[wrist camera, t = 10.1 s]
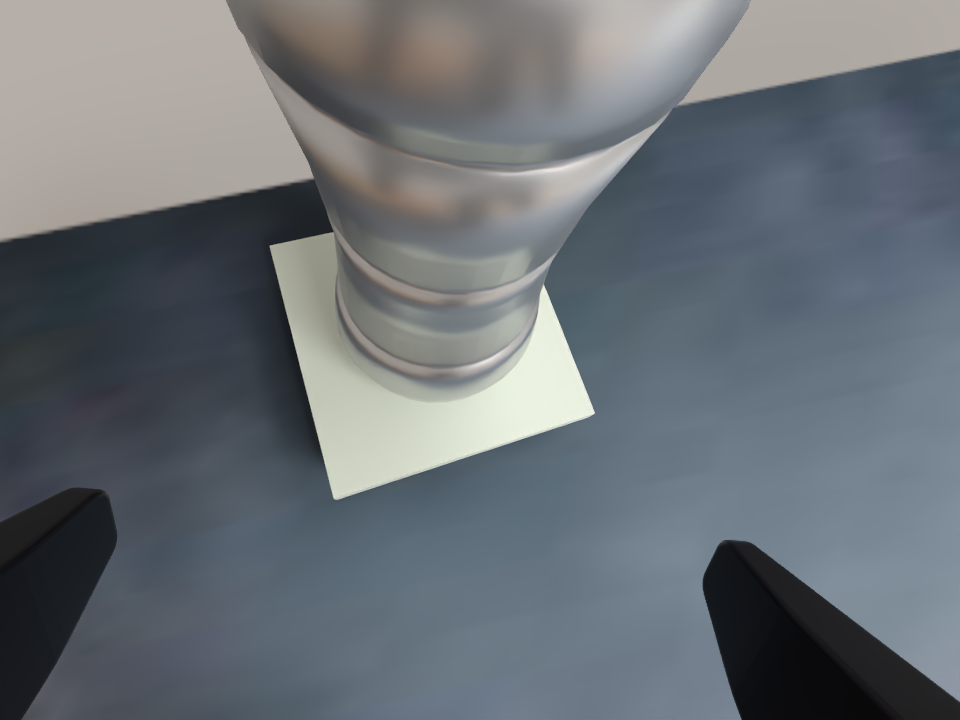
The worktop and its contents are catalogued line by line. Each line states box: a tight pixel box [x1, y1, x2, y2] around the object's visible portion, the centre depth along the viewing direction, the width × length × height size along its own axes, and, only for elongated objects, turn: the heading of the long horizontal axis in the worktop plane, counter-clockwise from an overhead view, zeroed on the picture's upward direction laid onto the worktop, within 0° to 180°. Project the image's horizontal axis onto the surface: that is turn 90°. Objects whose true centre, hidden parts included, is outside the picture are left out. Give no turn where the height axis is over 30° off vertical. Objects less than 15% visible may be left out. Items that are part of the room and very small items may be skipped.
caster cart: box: [270, 232, 595, 500], centre depth 21 cm, size 10×10×2 cm
